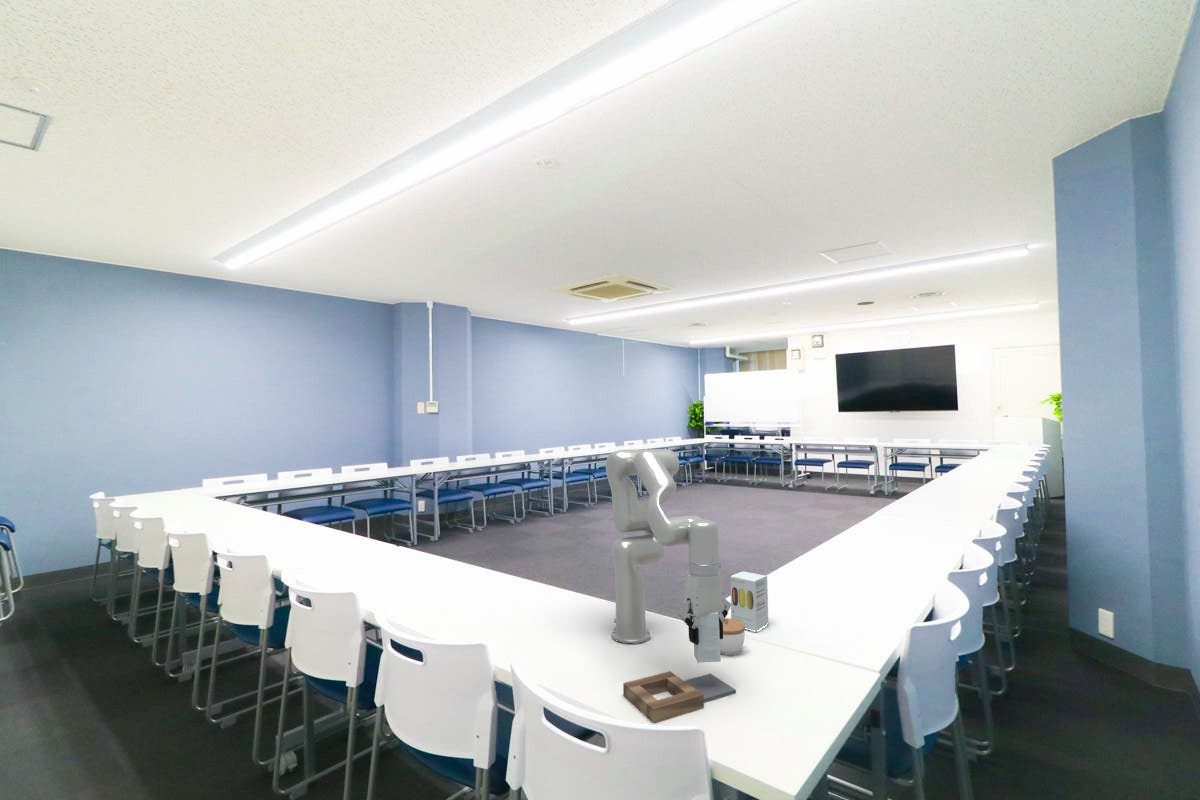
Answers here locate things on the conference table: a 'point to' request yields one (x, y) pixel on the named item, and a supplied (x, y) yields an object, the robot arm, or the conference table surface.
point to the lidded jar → (732, 636)
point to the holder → (665, 708)
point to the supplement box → (749, 599)
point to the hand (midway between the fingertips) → (706, 639)
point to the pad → (711, 687)
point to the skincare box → (708, 639)
